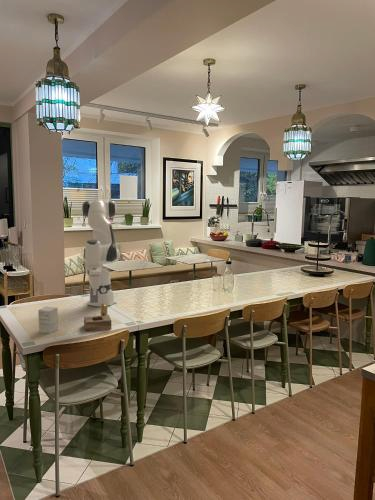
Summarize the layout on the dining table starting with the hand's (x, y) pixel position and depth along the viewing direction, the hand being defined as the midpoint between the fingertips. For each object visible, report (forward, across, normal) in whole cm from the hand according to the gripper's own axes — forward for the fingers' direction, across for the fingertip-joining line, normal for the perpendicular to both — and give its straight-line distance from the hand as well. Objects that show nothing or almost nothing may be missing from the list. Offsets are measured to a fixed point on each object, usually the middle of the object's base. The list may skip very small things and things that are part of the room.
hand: (93, 293), depth 212 cm
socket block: (+19, +1, +2) cm, 19 cm away
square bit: (+5, 0, 0) cm, 5 cm away
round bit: (+19, -9, +7) cm, 23 cm away
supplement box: (+20, -1, -24) cm, 31 cm away
